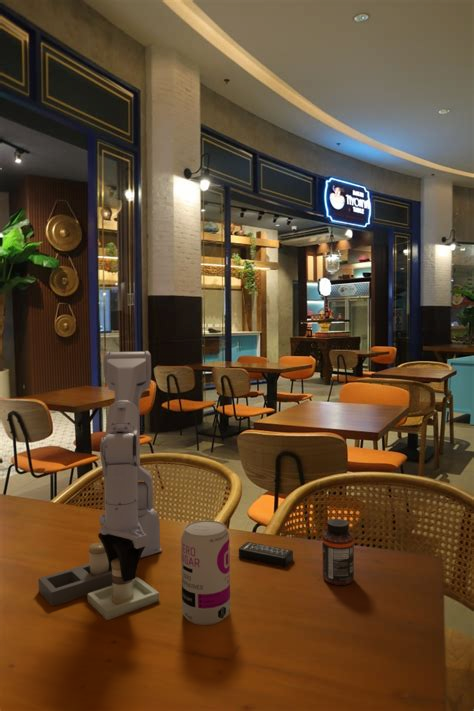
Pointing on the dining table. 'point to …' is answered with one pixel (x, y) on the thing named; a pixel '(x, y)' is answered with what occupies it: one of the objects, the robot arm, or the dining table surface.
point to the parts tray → (110, 610)
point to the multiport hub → (266, 554)
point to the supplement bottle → (338, 553)
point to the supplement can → (205, 572)
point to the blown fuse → (120, 585)
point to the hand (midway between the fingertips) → (122, 575)
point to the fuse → (98, 559)
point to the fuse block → (72, 584)
